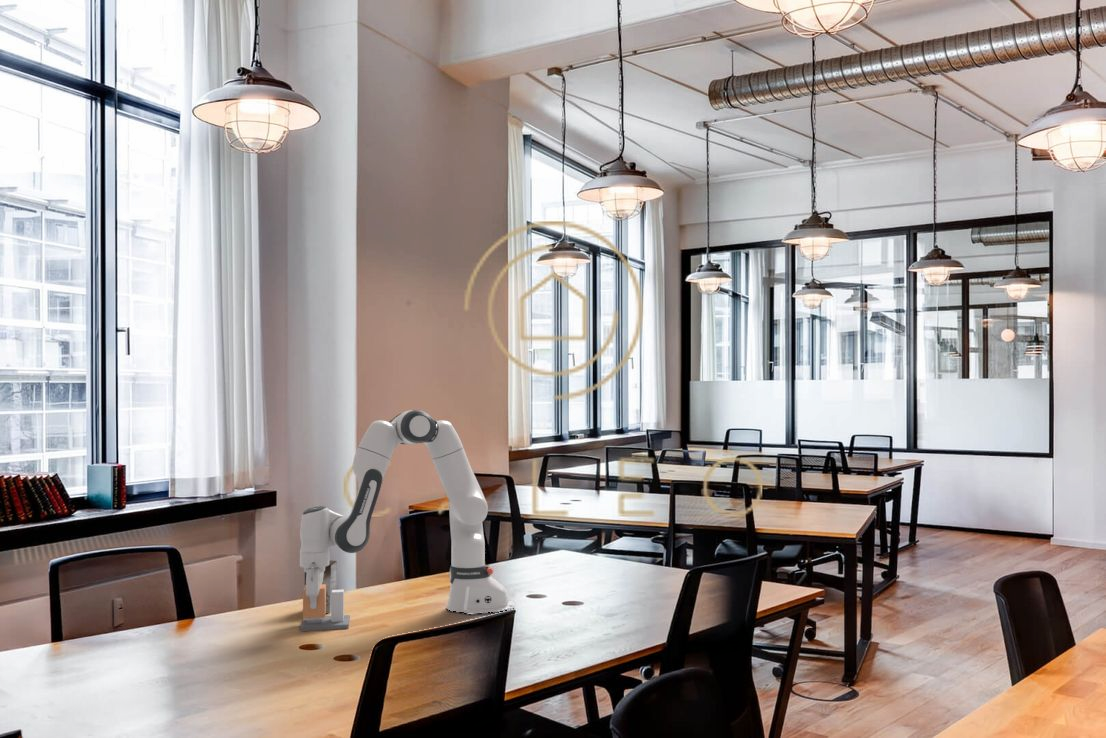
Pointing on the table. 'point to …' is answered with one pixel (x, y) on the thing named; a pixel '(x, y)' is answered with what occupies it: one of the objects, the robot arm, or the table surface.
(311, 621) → the far post
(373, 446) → the robot arm
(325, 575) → the coffee box
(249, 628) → the table surface
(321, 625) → the post base
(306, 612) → the orange block
